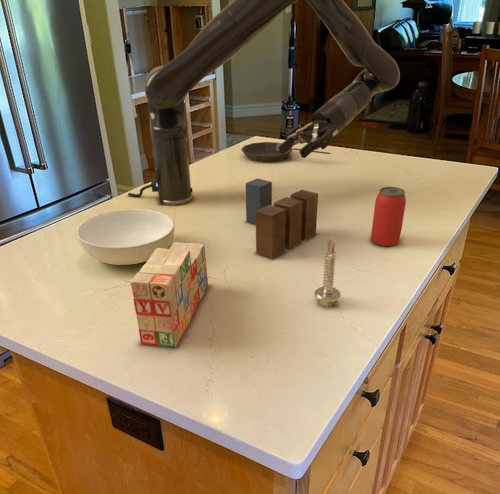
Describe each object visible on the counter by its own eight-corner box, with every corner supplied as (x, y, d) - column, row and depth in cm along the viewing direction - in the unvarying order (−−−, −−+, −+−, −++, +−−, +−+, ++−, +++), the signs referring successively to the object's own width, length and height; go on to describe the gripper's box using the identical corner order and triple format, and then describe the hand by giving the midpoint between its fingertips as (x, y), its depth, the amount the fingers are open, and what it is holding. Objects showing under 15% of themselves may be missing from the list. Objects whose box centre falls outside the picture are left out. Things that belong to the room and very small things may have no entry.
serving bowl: (95, 285, 104) (88, 254, 100) (73, 247, 119) (67, 219, 115) (191, 262, 112) (188, 233, 108) (159, 229, 127) (155, 202, 123)
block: (257, 216, 133) (257, 178, 127) (271, 220, 130) (272, 181, 125) (246, 222, 130) (245, 183, 124) (260, 226, 127) (260, 186, 122)
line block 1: (268, 246, 118) (269, 204, 112) (284, 251, 115) (285, 209, 110) (256, 253, 115) (255, 210, 109) (272, 259, 112) (272, 215, 107)
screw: (344, 306, 96) (321, 312, 94) (331, 294, 100) (309, 299, 98) (351, 241, 88) (326, 247, 87) (336, 231, 92) (312, 236, 91)
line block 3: (300, 229, 125) (302, 189, 120) (316, 234, 123) (318, 193, 117) (289, 235, 123) (290, 194, 117) (304, 240, 120) (306, 199, 114)
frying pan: (255, 147, 187) (255, 136, 185) (338, 157, 175) (339, 146, 173) (231, 160, 175) (231, 148, 172) (319, 172, 162) (320, 160, 160)
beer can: (402, 238, 120) (410, 188, 113) (396, 249, 115) (404, 197, 109) (374, 233, 123) (380, 184, 116) (367, 244, 118) (373, 193, 111)
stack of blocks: (178, 283, 104) (172, 226, 97) (208, 286, 103) (204, 228, 96) (140, 344, 87) (129, 280, 80) (175, 348, 86) (168, 283, 79)
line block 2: (285, 237, 122) (286, 196, 116) (301, 242, 119) (302, 201, 113) (273, 244, 119) (273, 202, 113) (289, 249, 116) (290, 207, 111)
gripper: (312, 99, 132) (267, 136, 129) (351, 101, 121) (303, 142, 118) (322, 126, 137) (279, 162, 134) (360, 130, 126) (314, 169, 123)
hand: (290, 152), depth 126 cm, fingers open, 8 cm apart
